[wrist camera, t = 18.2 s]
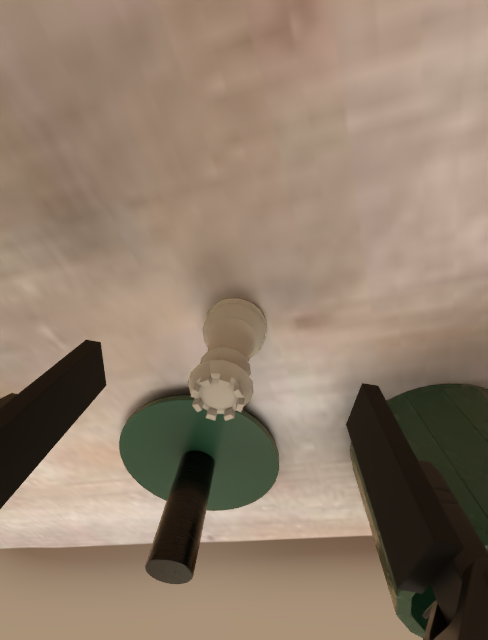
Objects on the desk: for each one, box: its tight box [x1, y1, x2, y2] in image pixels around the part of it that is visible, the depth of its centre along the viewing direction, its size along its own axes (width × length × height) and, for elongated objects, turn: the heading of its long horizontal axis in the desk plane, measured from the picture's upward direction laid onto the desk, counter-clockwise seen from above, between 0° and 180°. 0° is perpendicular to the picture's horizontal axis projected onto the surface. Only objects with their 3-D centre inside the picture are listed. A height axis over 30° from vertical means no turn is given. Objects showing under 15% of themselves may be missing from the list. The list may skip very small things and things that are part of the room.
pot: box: [350, 384, 488, 638], centre depth 19 cm, size 14×19×10 cm
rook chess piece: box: [188, 298, 267, 421], centre depth 16 cm, size 4×4×8 cm
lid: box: [119, 395, 279, 584], centre depth 22 cm, size 15×15×9 cm
